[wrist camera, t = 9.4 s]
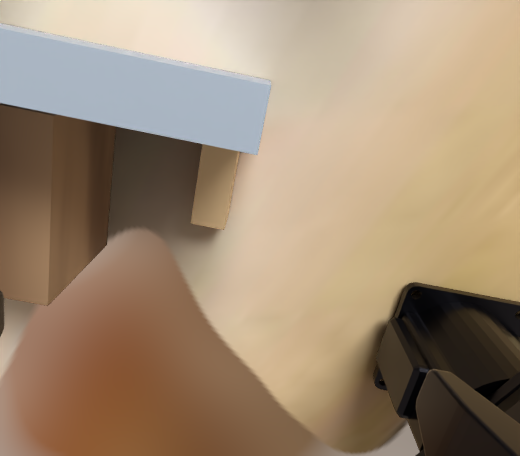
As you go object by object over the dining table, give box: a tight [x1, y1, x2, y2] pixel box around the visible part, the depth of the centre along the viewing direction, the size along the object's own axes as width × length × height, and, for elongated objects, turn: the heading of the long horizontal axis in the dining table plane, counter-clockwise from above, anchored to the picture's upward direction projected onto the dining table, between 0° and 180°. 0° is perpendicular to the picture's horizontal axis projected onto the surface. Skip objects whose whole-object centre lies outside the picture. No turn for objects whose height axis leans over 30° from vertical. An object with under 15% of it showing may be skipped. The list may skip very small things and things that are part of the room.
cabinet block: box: [0, 103, 116, 306], centre depth 17 cm, size 5×7×6 cm
